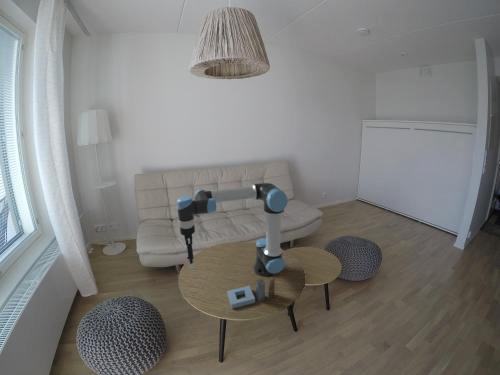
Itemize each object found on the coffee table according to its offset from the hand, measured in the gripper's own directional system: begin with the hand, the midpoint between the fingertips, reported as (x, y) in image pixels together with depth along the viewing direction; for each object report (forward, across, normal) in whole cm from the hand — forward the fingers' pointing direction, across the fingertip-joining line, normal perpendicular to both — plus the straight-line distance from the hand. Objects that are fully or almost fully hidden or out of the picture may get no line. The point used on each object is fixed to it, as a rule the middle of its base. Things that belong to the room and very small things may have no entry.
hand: (190, 260), depth 132 cm
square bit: (+28, +11, +37) cm, 48 cm away
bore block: (+28, +8, +26) cm, 39 cm away
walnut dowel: (+28, +11, +44) cm, 53 cm away
